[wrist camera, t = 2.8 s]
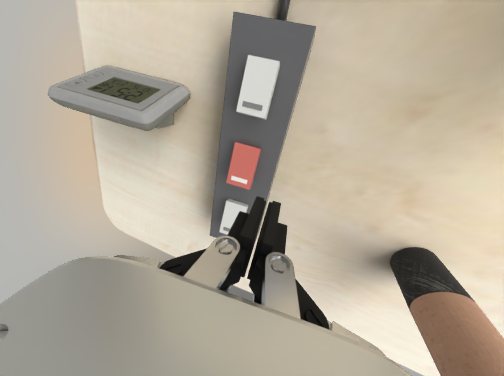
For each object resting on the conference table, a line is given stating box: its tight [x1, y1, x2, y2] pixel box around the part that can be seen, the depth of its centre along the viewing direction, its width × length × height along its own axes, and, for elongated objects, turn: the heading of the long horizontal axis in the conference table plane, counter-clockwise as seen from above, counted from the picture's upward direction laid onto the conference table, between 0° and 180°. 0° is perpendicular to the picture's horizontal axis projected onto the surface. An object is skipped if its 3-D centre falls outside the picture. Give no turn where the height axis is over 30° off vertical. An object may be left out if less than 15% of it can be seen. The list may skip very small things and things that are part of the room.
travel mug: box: [390, 247, 504, 376], centre depth 25 cm, size 8×8×20 cm
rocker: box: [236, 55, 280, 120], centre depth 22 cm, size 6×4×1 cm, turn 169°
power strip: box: [210, 0, 316, 244], centre depth 29 cm, size 40×9×5 cm, turn 169°
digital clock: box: [48, 66, 190, 131], centre depth 28 cm, size 16×9×11 cm, turn 67°
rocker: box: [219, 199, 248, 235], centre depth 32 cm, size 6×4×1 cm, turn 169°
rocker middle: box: [226, 142, 261, 190], centre depth 27 cm, size 6×4×1 cm, turn 169°
